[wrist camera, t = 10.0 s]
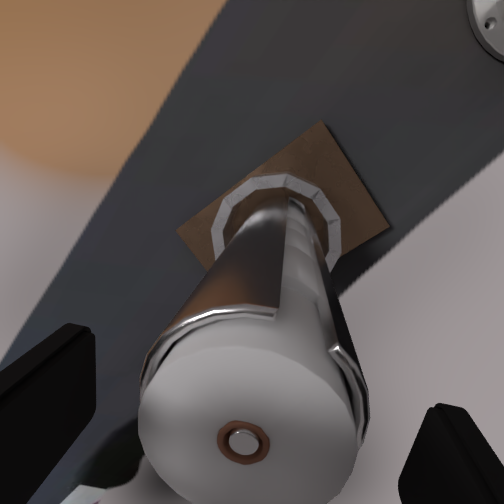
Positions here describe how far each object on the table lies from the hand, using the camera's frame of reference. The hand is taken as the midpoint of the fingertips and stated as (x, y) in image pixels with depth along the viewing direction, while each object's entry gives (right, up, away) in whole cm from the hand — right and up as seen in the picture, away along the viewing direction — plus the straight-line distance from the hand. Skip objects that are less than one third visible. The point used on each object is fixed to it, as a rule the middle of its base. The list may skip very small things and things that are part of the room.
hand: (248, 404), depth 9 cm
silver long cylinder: (+3, +7, +23) cm, 24 cm away
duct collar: (+3, +7, +24) cm, 25 cm away
